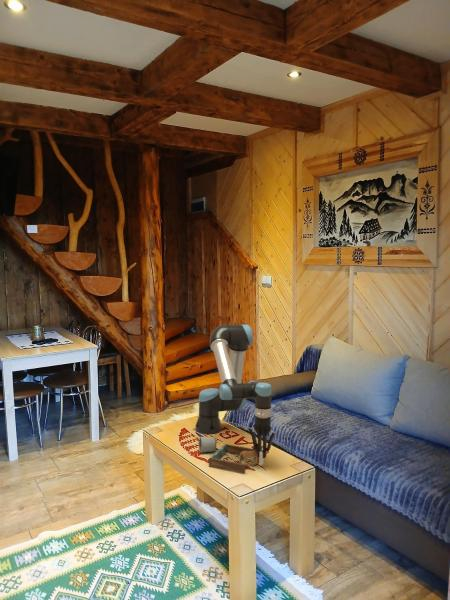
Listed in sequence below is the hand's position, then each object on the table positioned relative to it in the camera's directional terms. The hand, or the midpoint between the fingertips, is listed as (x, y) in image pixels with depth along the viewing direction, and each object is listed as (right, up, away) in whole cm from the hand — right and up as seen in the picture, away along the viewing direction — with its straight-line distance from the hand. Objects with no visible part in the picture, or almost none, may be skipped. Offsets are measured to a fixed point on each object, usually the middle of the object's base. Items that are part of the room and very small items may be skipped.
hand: (261, 464), depth 224 cm
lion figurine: (-5, -1, +1) cm, 5 cm away
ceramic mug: (-27, 0, +18) cm, 33 cm away
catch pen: (-13, -1, +5) cm, 14 cm away
